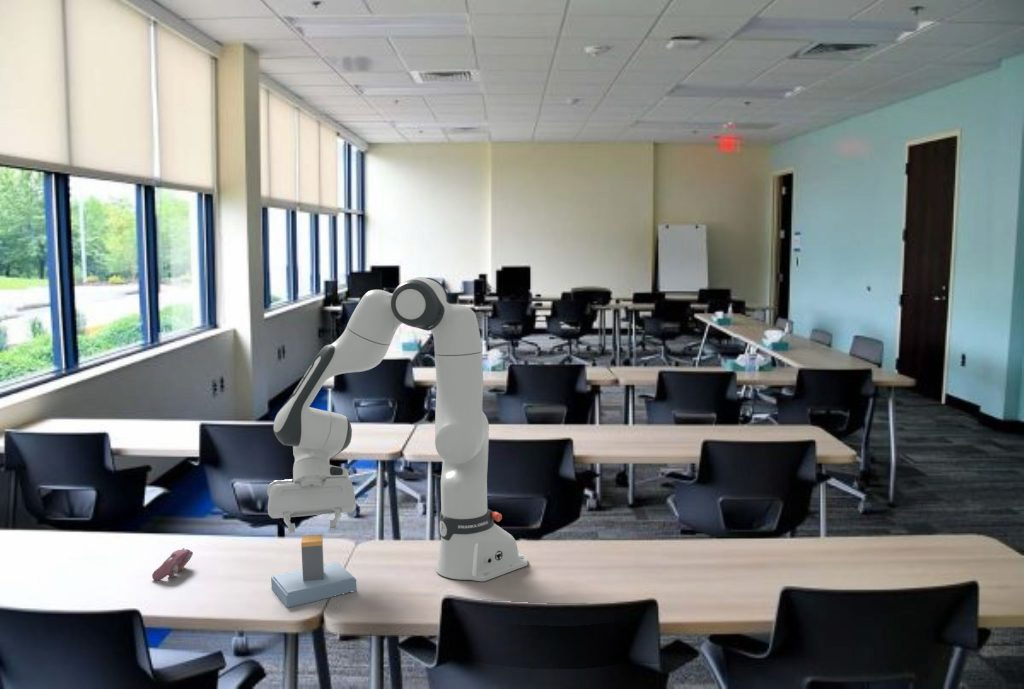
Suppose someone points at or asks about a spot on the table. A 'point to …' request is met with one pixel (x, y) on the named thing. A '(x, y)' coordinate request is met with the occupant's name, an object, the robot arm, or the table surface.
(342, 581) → the stand
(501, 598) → the table surface
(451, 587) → the table surface
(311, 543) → the block
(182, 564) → the video game controller
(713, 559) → the table surface
